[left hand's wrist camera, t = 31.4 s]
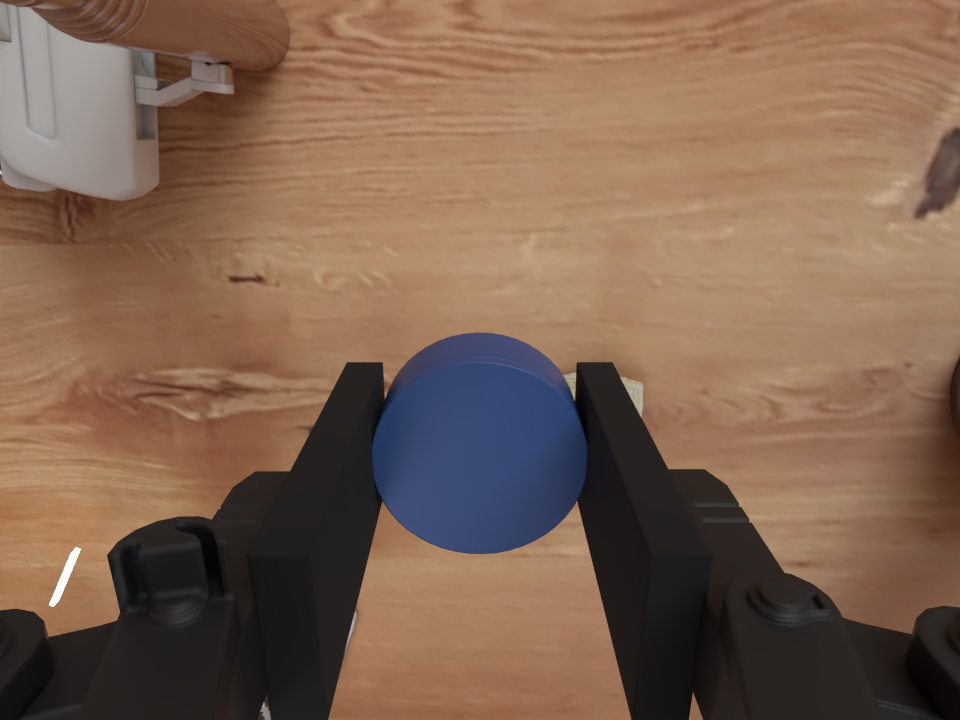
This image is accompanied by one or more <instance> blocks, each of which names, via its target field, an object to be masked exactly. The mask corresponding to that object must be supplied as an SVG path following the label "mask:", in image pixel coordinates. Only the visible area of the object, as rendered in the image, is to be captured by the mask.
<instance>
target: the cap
mask: <svg viewBox="0 0 960 720" xmlns="http://www.w3.org/2000/svg"><path fill="white" fill-rule="evenodd" d="M587 449H588V444H587V439H586V434H585V431H584V428H583V425H582V422H581V419H580V416H579V413H578V410H577V407H576V404H575V401H574V398H573V395H572V392H571V389H570V387H569V385H568V383H567V381H566V379H565V378H564V376H563V375H562V373H561V372H560V371H559V369H558V368H557V367H556V366H555V365H554V364H553V363H552V361H551V360H550V359H549V358H547V357H546V356H545V355H544V354H542V353H541V352H540V351H538V350H537V349H535V348H533V347H532V346H530V345H529V344H526V343H524V342H522V341H520V340H517V339H514V338H511V337H508V336H504V335H498V334H492V333H468V334H461V335H456V336H451V337H448V338H446V339H443V340H440V341H437V342H435V343H433V344H431V345H429V346H427V347H426V348H424V349H423V350H421V351H420V352H418V353H417V354H416V355H415V356H413V357H412V358H411V359H410V360H409V361H408V362H407V363H406V364H405V365H404V366H403V368H402V369H401V370H400V371H399V372H398V374H397V376H396V377H395V379H394V380H393V382H392V384H391V386H390V388H389V391H388V393H387V396H386V399H385V402H384V405H383V408H382V411H381V414H380V417H379V421H378V424H377V427H376V430H375V433H374V437H373V441H372V457H373V473H374V482H375V485H376V488H377V490H378V492H379V495H380V497H381V499H382V501H383V502H384V504H385V505H386V507H387V508H388V510H389V511H390V513H391V514H392V515H393V516H394V517H395V518H396V519H397V521H398V522H399V523H401V524H402V525H403V526H404V527H405V528H406V529H407V530H409V531H410V532H411V533H413V534H414V535H416V536H417V537H419V538H421V539H423V540H425V541H426V542H428V543H430V544H433V545H435V546H438V547H441V548H444V549H447V550H451V551H455V552H462V553H468V554H489V553H498V552H504V551H509V550H512V549H515V548H519V547H522V546H524V545H526V544H529V543H531V542H533V541H535V540H537V539H539V538H540V537H542V536H544V535H545V534H547V533H548V532H549V531H551V530H552V529H553V528H555V527H556V526H557V525H558V524H559V523H560V522H561V521H562V520H563V519H564V518H565V517H566V516H567V514H568V513H569V512H570V511H571V509H572V508H573V506H574V505H575V503H576V501H577V500H578V498H579V496H580V494H581V491H582V489H583V487H584V483H585V479H586V466H587Z"/></svg>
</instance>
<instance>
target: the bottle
mask: <svg viewBox="0 0 960 720" xmlns="http://www.w3.org/2000/svg"><path fill="white" fill-rule="evenodd" d="M0 2H1V3H4V4H7V5H13V6H17V7H29V8H31V9H32V10H33V11H34V12H35V13H37V14H38V15H39V16H40V17H42V18H43V19H44V20H45V21H46V22H48V23H49V24H50V25H51V26H53V27H54V28H56V29H57V30H59V31H61V32H63V33H65V34H67V35H69V36H71V37H73V38H76V39H78V40H81V41H85V42H89V43H95V44H100V45H106V46H112V47H118V48H124V49H129V50H135V51H141V52H147V53H152V54H158V55H164V56H170V57H176V58H181V59H187V60H193V61H199V62H205V63H210V64H211V63H216V64H223V65H229V66H234V68H239V69H245V70H251V71H263V70H267V69H270V68H272V67H274V66H275V65H276V64H278V63H279V62H280V61H281V59H282V58H283V57H284V55H285V53H286V51H287V49H288V45H289V39H290V32H289V25H288V22H287V19H286V16H285V14H284V12H283V11H282V9H281V8H280V6H279V5H278V4H277V3H276V2H275V1H274V0H0Z"/></svg>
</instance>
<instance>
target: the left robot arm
mask: <svg viewBox="0 0 960 720" xmlns="http://www.w3.org/2000/svg"><path fill="white" fill-rule="evenodd" d="M384 402H385V395H384V377H383V362H347V364H346V366H345V368H344V369H343V371H342V373H341V375H340V377H339V379H338V381H337V383H336V385H335V387H334V389H333V390H332V392H331V394H330V396H329V398H328V400H327V402H326V404H325V406H324V408H323V410H322V412H321V413H320V415H319V417H318V419H317V421H316V423H315V425H314V427H313V429H312V431H311V433H310V434H309V436H308V438H307V440H306V442H305V444H304V446H303V448H302V450H301V452H300V454H299V456H298V457H297V459H296V461H295V463H294V465H293V467H292V469H291V471H290V472H254V473H253V474H251V475H250V476H248V477H247V478H245V479H244V480H243V481H241V482H240V483H238V484H237V485H236V486H234V487H233V488H232V490H231V491H230V493H229V494H228V496H227V497H226V499H225V500H224V502H223V504H222V505H221V510H218V511H217V513H216V514H215V516H214V517H213V519H212V520H210V519H207V518H203V517H176V518H171V519H166V520H161V521H157V522H154V523H152V524H149V525H147V526H144V527H142V528H139V529H137V530H135V531H133V532H132V533H130V534H129V535H127V536H126V537H124V538H123V539H121V540H120V541H118V542H117V544H116V545H115V546H114V547H113V549H112V550H111V551H110V552H109V553H108V555H107V557H108V561H109V566H110V570H111V574H112V578H113V583H114V587H115V591H116V595H117V600H118V604H119V608H120V615H119V617H118V620H117V621H114V622H111V623H108V624H104V625H101V626H97V627H93V628H88V629H84V630H79V631H75V632H70V633H65V634H61V635H56V636H52V637H48V634H47V630H46V627H45V623H44V621H43V620H42V619H41V618H40V617H39V616H38V615H37V614H35V613H34V612H30V611H25V610H20V609H10V610H1V611H0V720H257V719H258V717H259V714H260V711H261V708H262V706H263V703H264V700H265V697H266V695H267V697H268V704H269V710H270V717H271V720H328V718H329V714H330V710H331V706H332V702H333V698H334V693H335V689H336V685H337V681H338V677H339V673H340V669H341V665H342V661H343V657H344V653H345V649H346V645H347V641H348V637H349V633H350V629H351V625H352V621H353V617H354V613H355V609H356V605H357V601H358V597H359V593H360V589H361V585H362V581H363V577H364V573H365V569H366V564H367V560H368V556H369V552H370V548H371V544H372V540H373V536H374V532H375V528H376V524H377V520H378V516H379V512H380V508H381V504H382V499H381V497H380V495H379V492H378V490H377V488H376V485H375V482H374V473H373V457H372V441H373V437H374V433H375V430H376V427H377V424H378V421H379V417H380V414H381V411H382V408H383V405H384ZM575 404H576V407H577V410H578V413H579V416H580V419H581V422H582V425H583V428H584V431H585V434H586V439H587V444H588V449H587V466H586V479H585V483H584V487H583V489H582V491H581V494H580V496H579V498H578V500H577V502H578V506H579V510H580V514H581V518H582V522H583V526H584V530H585V534H586V538H587V542H588V546H589V550H590V554H591V558H592V562H593V566H594V570H595V574H596V578H597V582H598V586H599V590H600V594H601V599H602V603H603V607H604V611H605V615H606V619H607V623H608V627H609V631H610V635H611V639H612V643H613V647H614V651H615V655H616V659H617V663H618V667H619V671H620V675H621V679H622V683H623V687H624V691H625V695H626V699H627V703H628V707H629V711H630V715H631V720H689V714H690V707H691V700H692V694H693V693H694V695H695V698H696V701H697V703H698V706H699V709H700V712H701V714H702V717H703V720H960V608H959V607H950V606H941V607H935V608H930V609H926V610H925V611H924V612H923V613H922V614H920V615H919V616H918V617H917V618H916V621H915V625H914V628H913V632H912V634H908V633H903V632H898V631H894V630H889V629H885V628H880V627H876V626H871V625H867V624H862V623H859V622H855V621H852V620H848V619H845V618H842V616H841V614H840V611H839V610H838V609H837V607H836V606H835V604H834V603H833V601H832V600H831V598H830V597H829V596H828V595H826V594H825V593H824V592H822V591H821V590H820V589H818V588H817V587H816V586H815V585H813V584H811V583H809V582H807V581H805V580H803V579H801V578H798V577H796V576H794V575H792V574H787V573H784V572H783V570H782V568H781V567H780V565H779V564H778V562H777V561H776V559H775V558H774V556H773V555H772V553H771V552H770V550H769V549H768V547H767V546H766V544H765V543H764V541H763V540H762V538H761V536H760V535H759V533H758V532H757V530H756V529H755V527H754V526H753V524H752V523H749V518H748V517H747V515H746V514H745V512H744V511H743V509H742V508H741V507H739V503H738V501H737V500H736V498H735V497H734V495H733V494H732V492H731V491H730V489H729V488H728V486H727V485H726V484H724V483H723V482H722V481H720V480H719V479H717V478H716V477H715V476H713V475H712V474H710V473H709V472H707V471H706V470H705V469H668V468H667V466H666V464H665V462H664V460H663V458H662V456H661V455H660V453H659V451H658V449H657V447H656V445H655V443H654V441H653V439H652V437H651V435H650V433H649V432H648V430H647V428H646V426H645V424H644V422H643V420H642V418H641V416H640V414H639V412H638V411H637V409H636V407H635V405H634V403H633V401H632V399H631V397H630V395H629V393H628V391H627V389H626V388H625V386H624V384H623V382H622V380H621V378H620V376H619V374H618V372H617V370H616V368H615V366H614V365H613V363H612V362H577V369H576V387H575ZM951 410H952V417H953V420H954V424H955V426H956V429H957V431H958V433H959V435H960V363H959V365H958V368H957V370H956V373H955V377H954V380H953V385H952V391H951Z"/></svg>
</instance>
